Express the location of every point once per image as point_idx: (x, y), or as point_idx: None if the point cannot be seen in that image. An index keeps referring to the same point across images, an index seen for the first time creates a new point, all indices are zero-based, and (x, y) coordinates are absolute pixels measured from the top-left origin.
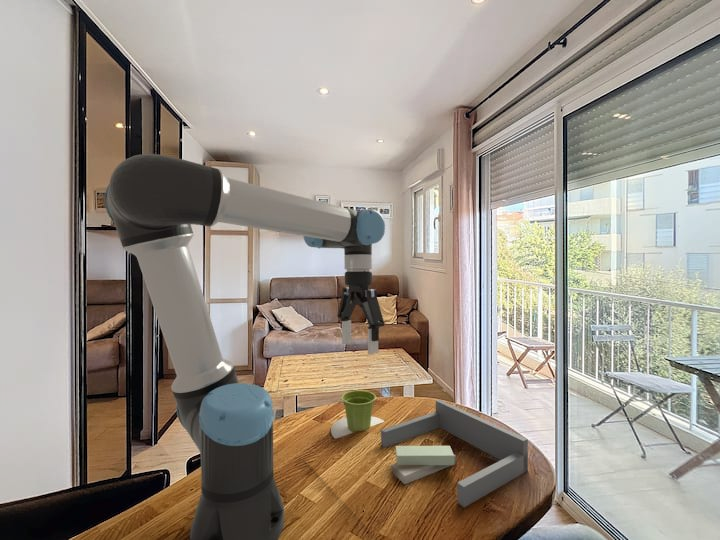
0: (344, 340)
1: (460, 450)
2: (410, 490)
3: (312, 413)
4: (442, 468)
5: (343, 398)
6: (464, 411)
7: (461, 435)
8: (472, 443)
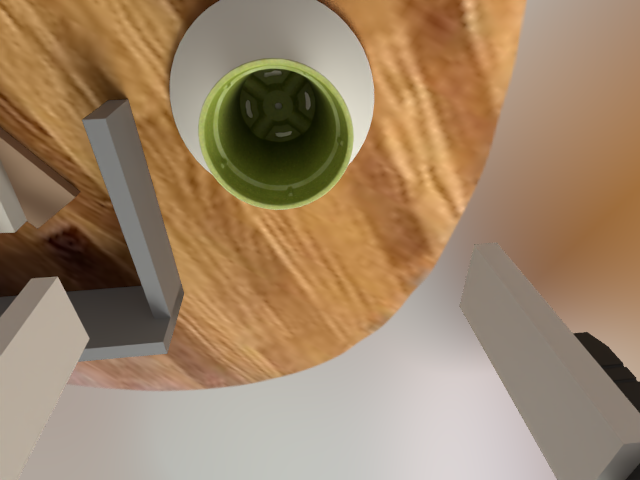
0: (486, 273)
1: (64, 271)
2: None
3: (498, 3)
4: None
5: (317, 80)
6: None
7: (83, 304)
8: None
